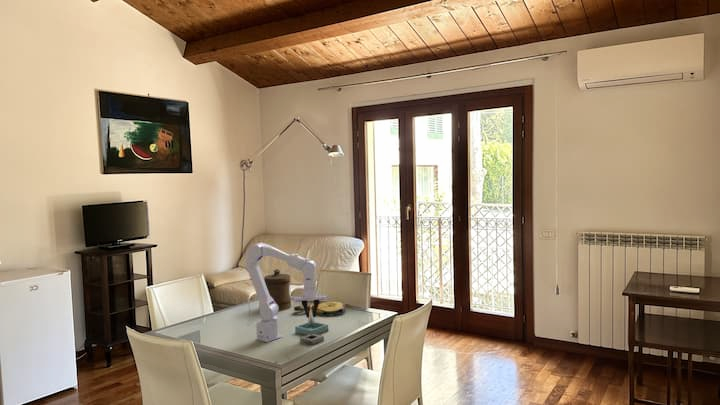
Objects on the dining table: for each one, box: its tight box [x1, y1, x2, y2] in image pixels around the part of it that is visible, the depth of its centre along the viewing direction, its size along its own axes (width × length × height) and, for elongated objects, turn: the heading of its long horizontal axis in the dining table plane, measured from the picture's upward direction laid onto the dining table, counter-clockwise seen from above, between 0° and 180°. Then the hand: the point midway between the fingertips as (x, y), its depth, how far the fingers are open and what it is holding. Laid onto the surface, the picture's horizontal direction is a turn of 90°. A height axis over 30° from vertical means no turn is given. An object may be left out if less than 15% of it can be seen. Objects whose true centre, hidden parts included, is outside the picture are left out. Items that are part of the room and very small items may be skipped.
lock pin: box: [307, 304, 315, 324], centre depth 223 cm, size 3×3×8 cm
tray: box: [294, 321, 329, 336], centre depth 233 cm, size 11×11×3 cm
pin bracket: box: [299, 334, 325, 346], centre depth 219 cm, size 8×8×2 cm
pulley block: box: [293, 301, 351, 317], centre depth 267 cm, size 14×6×30 cm
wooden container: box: [263, 268, 292, 312], centre depth 280 cm, size 15×15×22 cm
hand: (311, 316), depth 223 cm, fingers closed on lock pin, 3 cm apart
